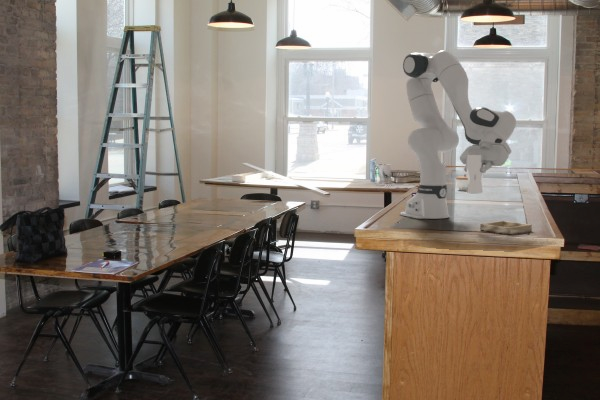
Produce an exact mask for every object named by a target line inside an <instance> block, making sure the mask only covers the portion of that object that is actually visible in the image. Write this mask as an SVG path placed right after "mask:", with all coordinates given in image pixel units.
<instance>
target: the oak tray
mask: <svg viewBox="0 0 600 400" xmlns="http://www.w3.org/2000/svg"><path fill="white" fill-rule="evenodd" d="M532 226H533V224H530V223H529V224H528V223H522V222H516V221H515V222H514V221H508V220H507V221H506V220H498V221H492V222H486V223H480V226H479V227H480V228H479V230H484V231H483V232H486V231H490V232H489V233H493V232H495V233H494V234H499V233H502V234H501V235H506V234H512V235H517V234H518V233H519V234H524V233H525V234H526V233H530V232H532V231H533V227H532Z"/></svg>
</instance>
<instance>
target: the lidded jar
mask: <svg viewBox="0 0 600 400" xmlns="http://www.w3.org/2000/svg"><path fill="white" fill-rule="evenodd" d="M455 184H456V187H457V189H458V190H459V191H464V192H465V191H466V192H467V189H468V178H467V173H466V174H465V173H464V174H463V176H462V175H461V176H459V175H458V176H456V177H455Z"/></svg>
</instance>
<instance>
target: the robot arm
mask: <svg viewBox="0 0 600 400" xmlns="http://www.w3.org/2000/svg"><path fill="white" fill-rule="evenodd" d="M402 69H403V72H404V74H405V75H406V76H408V77H409V78H408V80H407V81H406V83H405V84H406V94H407V100H408V103H409V107H410V109H411V110H410V111H411V113H412V117H413V119H414V121H415V122H417V124H419V125H421V126H422V127H421V128H417V129H414V130H412V131H410V133H409V135H408V138H407V143H408V144H407V145H408V147H409V150H411V151H412V152H413V153H414V155H415V156H416V159H417V161H418V165H419V173H420V175H419V176H420V178H419V179H420V180H419V182H420V183H419V185H416V186H415V189H416V190H417V191H416V194H414V195H413V196H412V197H411V198H409V199H408V200H407V201H406V203H405V209H404V211H401V212H400V213H399V216H405V217H407V218H413V219H419V220H422V219H424V220H428V219H432V220H433V219H439V220H440V219H447V218H450V214H449V211H448V210H449V209H448V204H447V194H448V191H447V190H448V187H447V186H448V185H447V167H446V165H445V164H444V163H443V162H441V159H440V158H439V157H440V156H439V154H440V153H443V154H444V153H448V152H451V151H454V150H455V149H457V147H458V145H459V141H460V138H459V135H458V132H457V131H456V130H455V129H454V128H452V127H451V126H450V125H449V124H448V123H447V122H446V120H445V119H444V118H443V116H442V115H441V113H440V110H439V109H438V105H437V101H436V99H435V96H434V93H433V89H432V83H438V82H439V83H440V85H441V86H442V88H443V90H444V91H445V93H446V95H447V96H448V98H449V101H450V102H451V105H452V106H453V109H454V110H455V111H454V112H456V115H457V117H458V118H459V120H460V122H461V124H462V126H463V129H464V130H463V131H464V137H465V139H466V141H467V142H469V143H470V144H472V145H469V146H468V147H466V148H465V149H464V151H463V152H462V153H461V155H460V156H459V160H460V162H461V163H462V165H465V167H463V171H465V173H467V171H466V160H467V154H484V167H482V168H481V169H480V171H481V173H484V174H485V173H486V172H487V171H488V170H490V169H491V168H492V167H493V166H494V167H502V166H503V165H505V163H506V162H507V160H508V158H509V156H510V154H511V153H512V149H511V147H510V145H509V144H508V142H507V141H508V140H509V139H510V137H511V136H512V134H513V132H514V131H515V129H516V126H517V119H516V117H515V115H514V114H513V113H511V112H510V111H508V110H501V111H499V110H498V111H497V110H492V109H489V108H488V107H484V106H479V107H474V108H472V107H471V104H470V101H469V77H468V74H467V72H466V70H465V69H464V67H463V66H462V64H461V62H460V61H459V60H458V59H457V58H456V57H455V56H454V55H453V53H452V52H450V51H449V50H446V49H445V50H443V49H442V50H439V51H437V52H436V53H434V52H428V51H427V52H412V53H410V54H408V55H406V56H405V58H404V60H403V63H402Z"/></svg>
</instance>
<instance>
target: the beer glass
mask: <svg viewBox="0 0 600 400" xmlns="http://www.w3.org/2000/svg"><path fill="white" fill-rule="evenodd" d="M465 166H466V171H467V172H466V176H467V178H468V189H467V191H466V193H467V194H483V192H484V191H483V179H484V174H485V173H481V171H480V169H481V168H482V167H484V166H485V165H484V154H467V160H466V164H465Z"/></svg>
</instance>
